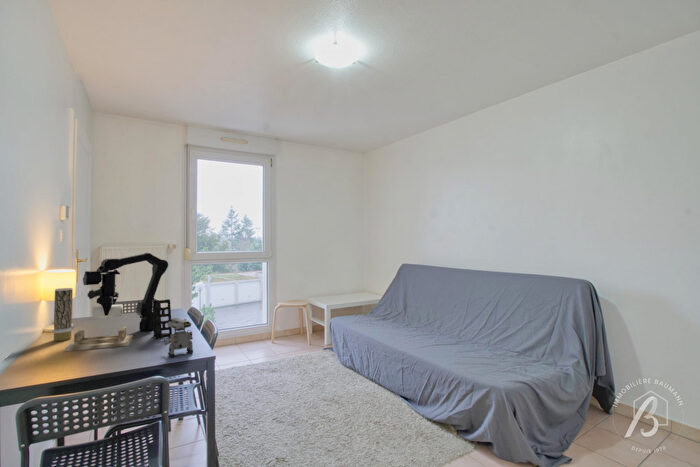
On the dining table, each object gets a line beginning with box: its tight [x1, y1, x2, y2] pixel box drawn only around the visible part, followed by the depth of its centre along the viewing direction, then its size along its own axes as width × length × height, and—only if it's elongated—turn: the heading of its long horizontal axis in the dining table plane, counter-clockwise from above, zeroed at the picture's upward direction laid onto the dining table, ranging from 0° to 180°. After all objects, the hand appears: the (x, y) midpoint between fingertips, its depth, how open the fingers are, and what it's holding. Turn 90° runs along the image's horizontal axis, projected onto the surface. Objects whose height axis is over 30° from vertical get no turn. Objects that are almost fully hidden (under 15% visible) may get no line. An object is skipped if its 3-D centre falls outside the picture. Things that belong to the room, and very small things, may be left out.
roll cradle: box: [64, 326, 134, 352], centre depth 168 cm, size 24×14×6 cm, turn 114°
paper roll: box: [91, 304, 124, 319], centre depth 181 cm, size 12×6×6 cm, turn 114°
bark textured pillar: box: [53, 287, 73, 342], centre depth 175 cm, size 7×7×25 cm
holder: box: [152, 297, 173, 339], centre depth 181 cm, size 11×8×20 cm
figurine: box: [163, 317, 194, 358], centre depth 156 cm, size 9×12×15 cm
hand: (107, 314), depth 181 cm, fingers closed on paper roll, 6 cm apart
